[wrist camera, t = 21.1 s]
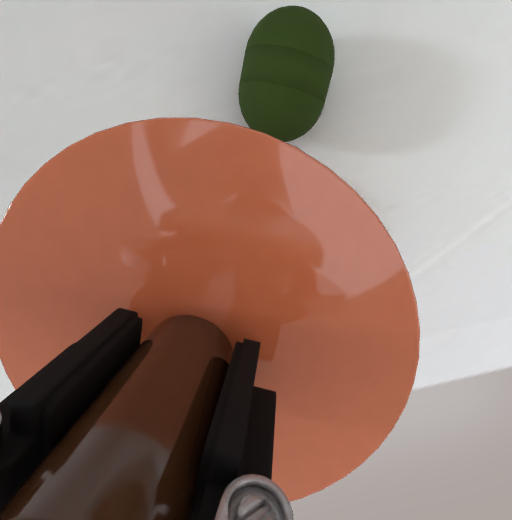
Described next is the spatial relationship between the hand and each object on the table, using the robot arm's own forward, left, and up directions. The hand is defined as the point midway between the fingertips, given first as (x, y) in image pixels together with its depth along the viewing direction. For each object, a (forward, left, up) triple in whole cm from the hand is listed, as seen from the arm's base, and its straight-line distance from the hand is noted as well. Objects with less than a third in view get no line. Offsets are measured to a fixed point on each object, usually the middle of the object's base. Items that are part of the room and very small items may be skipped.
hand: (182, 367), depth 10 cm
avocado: (-12, 0, -19) cm, 22 cm away
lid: (0, 0, -1) cm, 1 cm away
